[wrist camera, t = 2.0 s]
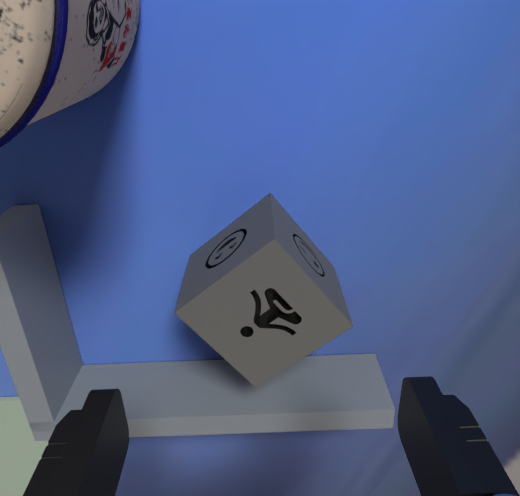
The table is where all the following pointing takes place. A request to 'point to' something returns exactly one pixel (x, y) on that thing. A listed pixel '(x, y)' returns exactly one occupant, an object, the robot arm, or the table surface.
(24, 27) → the teacup with lid
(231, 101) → the table surface
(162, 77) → the table surface
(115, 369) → the pen walls
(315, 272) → the dice cube
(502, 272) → the table surface
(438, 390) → the robot arm
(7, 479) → the mat
